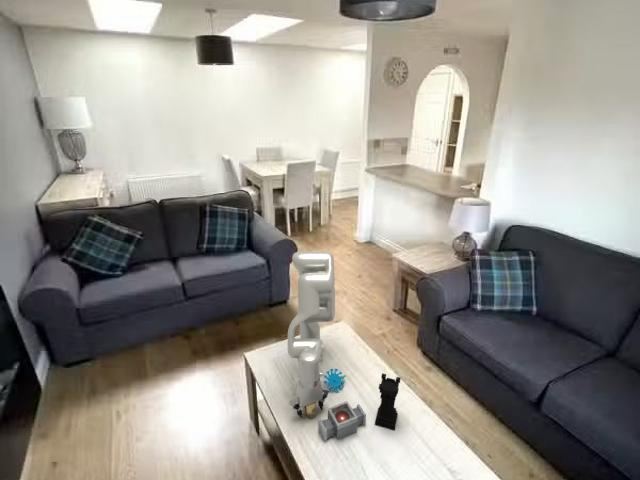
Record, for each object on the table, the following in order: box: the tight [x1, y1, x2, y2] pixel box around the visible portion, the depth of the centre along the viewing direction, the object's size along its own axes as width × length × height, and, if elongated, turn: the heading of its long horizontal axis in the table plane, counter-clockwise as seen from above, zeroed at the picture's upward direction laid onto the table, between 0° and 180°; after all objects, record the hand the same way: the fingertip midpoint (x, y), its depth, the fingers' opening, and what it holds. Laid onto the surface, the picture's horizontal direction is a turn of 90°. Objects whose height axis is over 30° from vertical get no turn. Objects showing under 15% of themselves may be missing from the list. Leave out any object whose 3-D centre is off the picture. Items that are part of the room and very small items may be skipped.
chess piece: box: [374, 373, 401, 431], centre depth 141 cm, size 8×8×20 cm
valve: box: [317, 400, 367, 442], centre depth 140 cm, size 9×18×8 cm, turn 114°
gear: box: [323, 367, 347, 393], centre depth 162 cm, size 11×6×10 cm
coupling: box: [303, 402, 317, 420], centre depth 146 cm, size 5×5×7 cm
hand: (310, 411), depth 147 cm, fingers open, 8 cm apart
